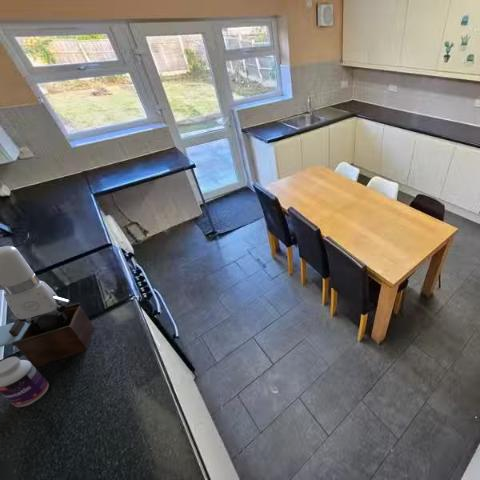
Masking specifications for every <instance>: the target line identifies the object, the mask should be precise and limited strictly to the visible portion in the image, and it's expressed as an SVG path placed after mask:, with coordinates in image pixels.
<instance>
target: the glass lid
mask: <svg viewBox="0 0 480 480" xmlns="http://www.w3.org/2000/svg"><path fill="white" fill-rule="evenodd" d="M29 326H30V324H27V323H26V322H23V321H19V320H14V322H11V323H7V324H3V325H0V348H2V347H5V346H8V345H12V342H15V341H19V340H21V339H22V338H23V336H24V334H25V332H26V331H27V329H28V327H29Z"/></svg>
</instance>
